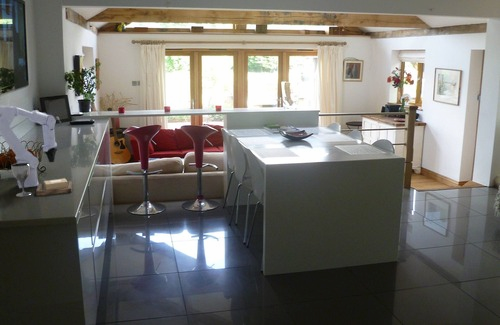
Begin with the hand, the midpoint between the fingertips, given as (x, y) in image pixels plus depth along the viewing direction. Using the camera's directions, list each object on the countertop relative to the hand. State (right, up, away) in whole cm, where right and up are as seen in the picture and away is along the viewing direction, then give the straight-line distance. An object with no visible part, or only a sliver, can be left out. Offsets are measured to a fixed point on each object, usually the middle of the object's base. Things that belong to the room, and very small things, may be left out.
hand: (51, 161), depth 265 cm
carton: (+10, -15, -19) cm, 26 cm away
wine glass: (-3, -16, -26) cm, 30 cm away
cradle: (+9, -14, -18) cm, 24 cm away
